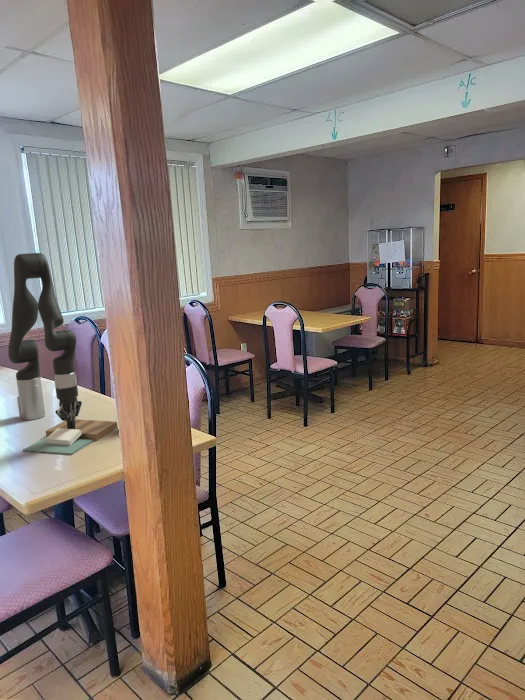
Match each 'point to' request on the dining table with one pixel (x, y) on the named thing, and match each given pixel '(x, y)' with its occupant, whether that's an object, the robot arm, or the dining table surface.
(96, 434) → the board
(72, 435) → the plastic block
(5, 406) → the dining table surface
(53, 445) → the rubber mat
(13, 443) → the dining table surface
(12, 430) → the dining table surface
